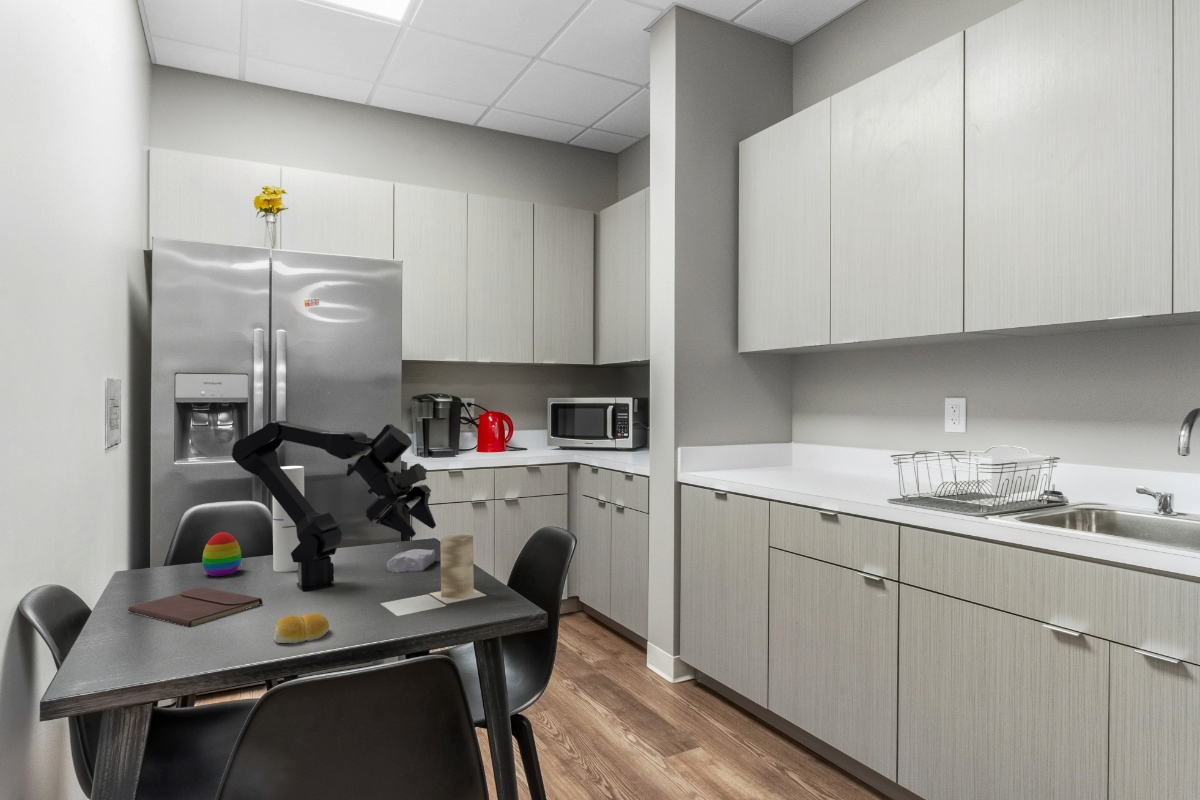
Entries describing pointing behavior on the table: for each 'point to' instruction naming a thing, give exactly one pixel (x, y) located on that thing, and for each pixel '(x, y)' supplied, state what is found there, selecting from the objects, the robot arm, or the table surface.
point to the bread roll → (300, 628)
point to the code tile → (450, 600)
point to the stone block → (411, 560)
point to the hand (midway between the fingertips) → (424, 531)
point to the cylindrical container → (286, 526)
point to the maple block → (457, 566)
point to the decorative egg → (221, 555)
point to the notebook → (195, 606)
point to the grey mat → (412, 605)
